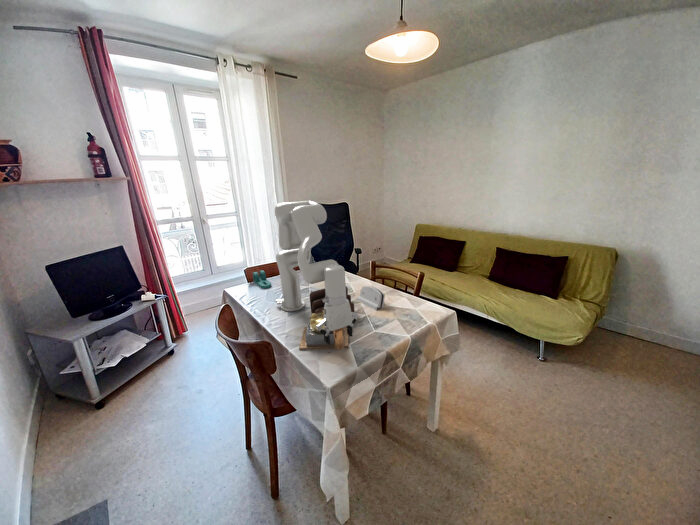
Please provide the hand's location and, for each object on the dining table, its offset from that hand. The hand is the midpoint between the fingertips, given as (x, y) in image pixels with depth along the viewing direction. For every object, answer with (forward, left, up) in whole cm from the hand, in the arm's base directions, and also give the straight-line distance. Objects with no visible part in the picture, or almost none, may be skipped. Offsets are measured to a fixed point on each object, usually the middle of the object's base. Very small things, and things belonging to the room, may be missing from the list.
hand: (339, 339), depth 107 cm
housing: (-7, +12, -7) cm, 15 cm away
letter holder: (-4, +30, -7) cm, 31 cm away
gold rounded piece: (-4, +8, -4) cm, 10 cm away
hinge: (+16, +44, -7) cm, 47 cm away
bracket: (-53, +78, -7) cm, 95 cm away
